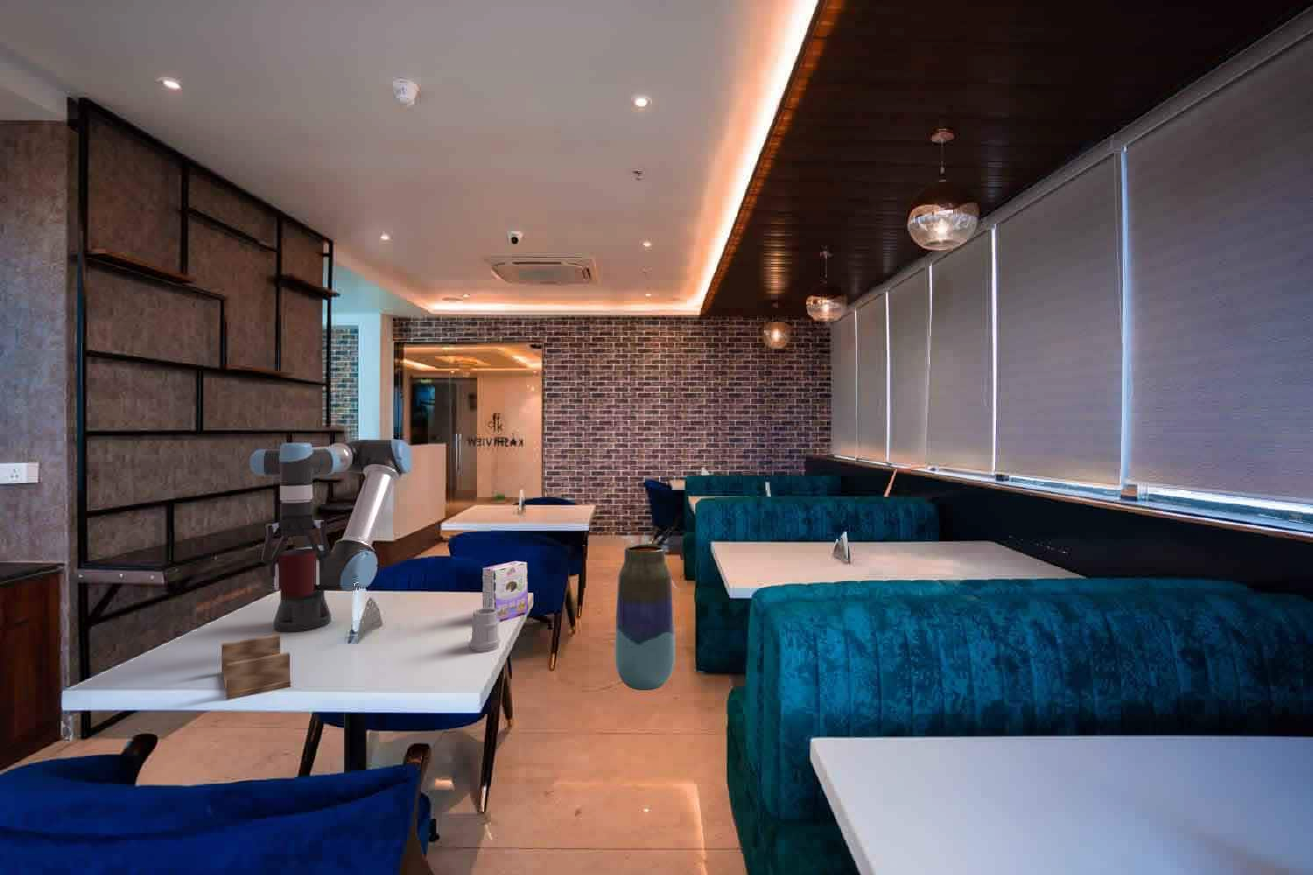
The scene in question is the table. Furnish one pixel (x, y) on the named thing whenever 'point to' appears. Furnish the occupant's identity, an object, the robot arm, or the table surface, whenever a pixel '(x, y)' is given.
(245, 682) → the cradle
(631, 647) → the vase
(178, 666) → the table surface
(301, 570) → the mug
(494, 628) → the mug
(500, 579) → the candy box
